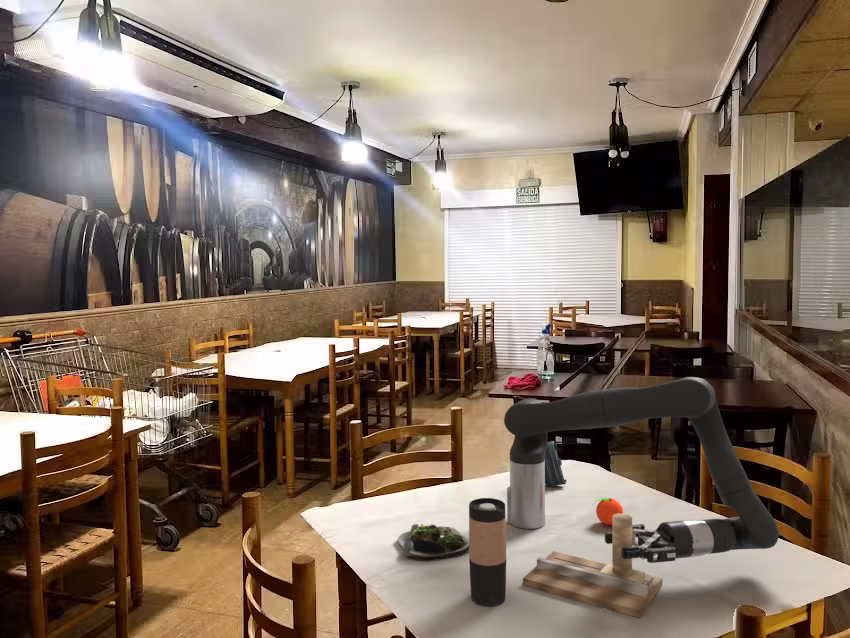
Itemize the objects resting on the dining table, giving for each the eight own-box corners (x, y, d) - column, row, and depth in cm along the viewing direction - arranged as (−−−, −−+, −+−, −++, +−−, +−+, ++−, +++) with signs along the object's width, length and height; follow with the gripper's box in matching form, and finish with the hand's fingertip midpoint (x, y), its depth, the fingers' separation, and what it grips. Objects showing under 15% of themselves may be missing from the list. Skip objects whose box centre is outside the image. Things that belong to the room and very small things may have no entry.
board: (522, 584, 142) (522, 569, 142) (553, 557, 155) (553, 543, 155) (639, 618, 128) (639, 600, 128) (662, 584, 141) (662, 569, 141)
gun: (507, 438, 210) (553, 429, 206) (521, 489, 210) (567, 481, 206) (505, 440, 208) (551, 431, 203) (519, 492, 208) (566, 483, 203)
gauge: (599, 581, 140) (599, 516, 139) (608, 570, 145) (608, 508, 144) (637, 591, 135) (637, 524, 134) (645, 580, 140) (645, 516, 139)
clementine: (590, 527, 173) (590, 500, 172) (593, 517, 179) (593, 492, 179) (621, 531, 170) (621, 504, 169) (624, 521, 176) (624, 495, 176)
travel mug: (467, 590, 140) (465, 498, 139) (502, 588, 141) (501, 496, 139) (472, 608, 133) (471, 511, 131) (510, 606, 133) (509, 509, 132)
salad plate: (384, 535, 171) (384, 518, 170) (448, 525, 177) (448, 509, 176) (407, 566, 152) (406, 547, 152) (478, 554, 158) (477, 536, 158)
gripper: (667, 509, 148) (598, 516, 145) (705, 534, 134) (629, 542, 131) (667, 542, 149) (598, 549, 146) (704, 570, 135) (629, 578, 132)
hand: (613, 545), depth 139 cm, fingers open, 7 cm apart
